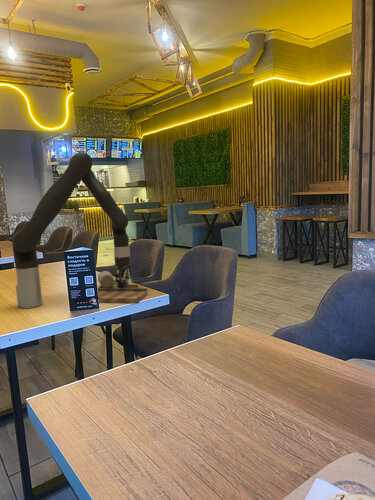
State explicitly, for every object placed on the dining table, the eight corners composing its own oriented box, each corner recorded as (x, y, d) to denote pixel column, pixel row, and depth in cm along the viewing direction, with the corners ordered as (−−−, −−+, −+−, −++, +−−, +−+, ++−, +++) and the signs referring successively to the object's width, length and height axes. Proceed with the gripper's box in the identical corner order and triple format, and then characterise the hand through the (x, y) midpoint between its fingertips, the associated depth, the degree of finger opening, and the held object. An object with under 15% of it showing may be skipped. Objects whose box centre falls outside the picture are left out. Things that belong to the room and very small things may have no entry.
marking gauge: (137, 292, 185) (137, 279, 184) (117, 292, 187) (116, 279, 186) (140, 290, 188) (139, 278, 188) (120, 289, 191) (119, 278, 190)
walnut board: (85, 302, 170) (85, 295, 170) (99, 294, 184) (99, 287, 183) (137, 303, 165) (136, 296, 164) (147, 294, 178) (147, 288, 178)
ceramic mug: (100, 289, 194) (99, 274, 193) (98, 286, 202) (97, 271, 201) (121, 286, 198) (120, 272, 197) (118, 283, 206) (117, 269, 204)
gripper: (120, 253, 193) (123, 284, 196) (108, 258, 180) (111, 291, 182) (134, 253, 192) (136, 284, 194) (123, 257, 178) (126, 292, 180)
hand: (124, 288), depth 188 cm, fingers open, 8 cm apart
